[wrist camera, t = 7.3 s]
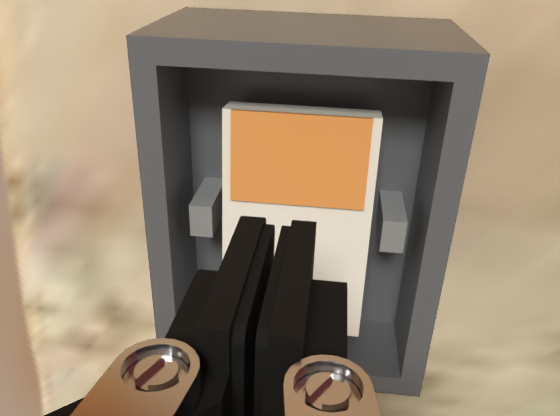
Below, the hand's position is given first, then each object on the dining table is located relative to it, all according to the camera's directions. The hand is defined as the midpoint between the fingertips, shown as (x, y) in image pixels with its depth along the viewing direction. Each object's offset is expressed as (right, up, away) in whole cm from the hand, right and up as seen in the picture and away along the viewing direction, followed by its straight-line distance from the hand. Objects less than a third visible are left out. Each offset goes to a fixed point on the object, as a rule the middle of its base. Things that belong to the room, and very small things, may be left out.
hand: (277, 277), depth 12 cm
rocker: (+1, +1, +7) cm, 7 cm away
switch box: (+1, +3, +11) cm, 12 cm away
